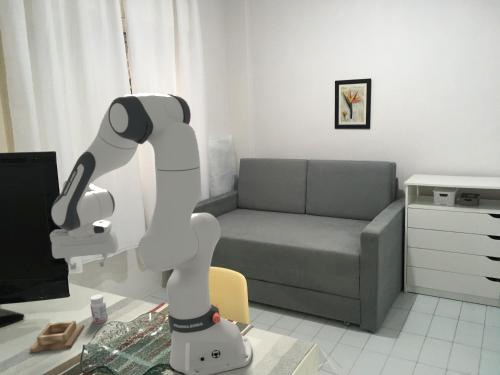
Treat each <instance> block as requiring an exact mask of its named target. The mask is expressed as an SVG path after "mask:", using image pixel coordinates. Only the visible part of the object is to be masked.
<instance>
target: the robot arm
mask: <svg viewBox="0 0 500 375" xmlns="http://www.w3.org/2000/svg"><path fill="white" fill-rule="evenodd" d="M191 114H192V113H191V109H190V106H189V104H188V102H187V100H185V99H184V98H183V97H181V96H178V95H174V94H172V93H171V94H169V93H168V94H160V93H152V92H150V93H149V92H148V93H147V92H146V93H144V92H143V93H137V94H124V95H121V96H119V97H117V98H115V99H113V100H112V102H111V103H110V105H109V106H108V108H107V110H106V112H105V114H104V116H103V118H102V120H101V123H100V124H99V128H98V131H97V134H96V136H95V137H94V139H93V141H92V143H91V144H90V145H89V146H88V148H87V149H86V150H85V151H84V152H83V153H82V154H81V155H80V156H79V157H78V158H77V159H76V162H75V163H74V166H73V168H72V169H71V171H70V174H69V176H68V178H67V180H65V182H63V183H62V191H61V193H59V195H58V196H57V197H56V199H55V200H54V202H53V203H52V206H51V209H50V216H51V220H52V221H53V223H54V225H55V226H57V227H58V229H54V230H52V231H51V232H50V234H49V238H50V242H51V254H52V257H53V258H54V259H64V260H65V262H66V263H67V264H68V266H69V269H70V270H71V271H72V270H76V269H77V262H74V261H73V260H72V258H75V257H87V256H99V255H101V257H102V258H103V259H102V260H100V261H99V267H100V268H104V267H106V265H107V262H106V260H107V259H108V256H109V254H115V253H116V252H117V250H118V249H119V243H118V237H117V235H116V234H117V233H116V232H115V231H114V229H112V227H113V223H112V221H109V220H106V219H107V218H110V217H112V216H113V214H114V212H115V210H116V201H115V198H114V196H113V194H112V193H111V192H110V191H109V190H107V189H106V188H105V189H104V188H101V187H98V186H96V185H95V184H93V183H94V182H95V181H96V180H97V179H98V178H100V177H102V176H103V175H105V174H108V173H110V172H112V171H115V170H117V169H120V168H122V167H124V166H126V165H127V164H129V162H130V161H131V160H132V159H133V157H134V156H135V154H136V152H137V150H138V147H139V145H143V144H145V143H146V142H148V143H149V144H150V145H151V146H152V148H153V151H154V167H155V168H154V170H155V172H154V173H155V186H156V187H155V189H156V190H155V191H156V194H155V195H156V199H155V206H154V211H153V214H152V217H151V220H150V223H149V224H148V228H147V230H146V231H145V233H144V234H143V235H142V237H141V238H140V239H139V241H138V245H137V256H138V258H139V260H140V262H141V263H142V265H143V266H144V268H146V269H147V270H149V271H150V272H152V273H162V272H166V271H170V270H173V271H172V273H171V275H170V276H169V278H168V280H167V283H166V287H165V288H166V297H167V303H168V304H167V305H168V310H169V311H168V313H167V322H168V323H167V324H168V328H169V333H170V335H171V344H170V345H171V346H170V347H171V349H170V356H169V365H170V367H171V368H172V369H174V370H175V371H178V372H179V373H181V374H182V373H183V374H184V375H214V374H215V375H216V374H218V373H223V372H226V371H231V370H232V371H233V370H236V369H239V368H244V367H247V366H248V365H249V363H250V362H251V360H252V356H253V350H252V344H251V342H250V340H249V339H248V338H247V337H246V336H245V335H242V333H241V331H240V328H239V327H238V325H237V324H236V323H234V322H233V321H230V320H228V319H226V318H223V317H222V316H221V314H220V308H218V306H219V305H218V304H217V303H216V304H215V305H213V303H211V298H210V297H211V295H210V282H209V281H210V280H209V278H210V269H211V264H212V259H213V255H214V252H215V249H216V246H217V244H218V242H219V241H220V239H221V234H222V228H221V226H220V222H219V221H218V219H217V218H216V217H215V215H213V214H211V213H209V212H195V213H194V210H195V208H196V205H198V204H199V202H200V200H201V196H202V180H201V179H202V178H201V162H200V161H201V160H200V151H199V145H198V140H197V135H196V132H195V130H194V128H193V127H192V126H191V125H190V122H191V117H192V116H191ZM59 228H60V229H59Z"/></svg>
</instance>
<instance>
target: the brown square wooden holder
mask: <svg viewBox="0 0 500 375" xmlns="http://www.w3.org/2000/svg"><path fill="white" fill-rule="evenodd" d="M84 329H85V324H77V322H76V320H69V321H62V322H61V321H60V322H49V323H47V324H46V326H45V327H44V329H42V330H41V332H40V333H39V334H38V335H37V337H36V339H37V340H36V341H35V342H34V343H33V344H32V346H31V347H30V348H29V353H36V352H44V351H45V352H47V351H54V350H63V349H71V348H72V347H73V346H74V344H75V343H76V341H77V340H78V338H79V336H80V335H81V334H82V332H83V330H84Z"/></svg>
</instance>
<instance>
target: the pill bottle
mask: <svg viewBox="0 0 500 375" xmlns="http://www.w3.org/2000/svg"><path fill="white" fill-rule="evenodd" d="M89 300H90V303H89V304H90V305H89V306H90V313H91V317H92V321H93V323H94V324H102V323H104V322H106V321H107V320H108V311H107V304H106V301H105V300H104V295H103V294H102V293H99V294H94V295H92V296H90V299H89Z"/></svg>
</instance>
